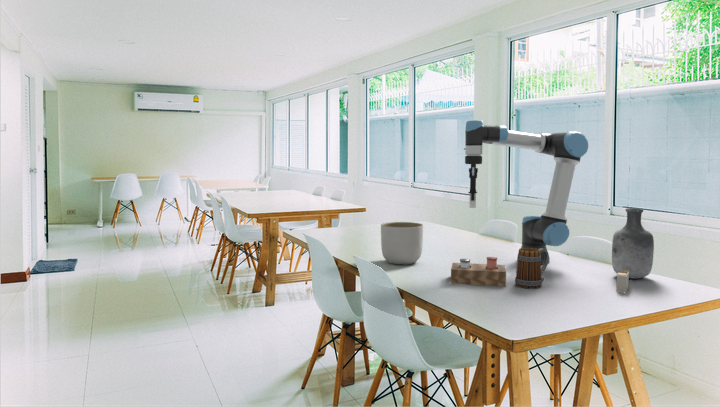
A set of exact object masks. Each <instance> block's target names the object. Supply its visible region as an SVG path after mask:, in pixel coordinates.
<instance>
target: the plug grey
mask: <svg viewBox="0 0 720 407" xmlns="http://www.w3.org/2000/svg"><path fill="white" fill-rule="evenodd" d="M459 261H460V262H459V263H460V268H470V263H471V259H470V258H460V259H459Z"/></svg>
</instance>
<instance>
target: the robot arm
mask: <svg viewBox="0 0 720 407" xmlns="http://www.w3.org/2000/svg"><path fill="white" fill-rule="evenodd" d="M464 129H465V133H464V134H465V142H464V143H465V147H464V148H463V150H464V152H465V153H464V154H465V156H464V165H470V167H469V168H468V173H469V174H468V175H469V176H468V177H469V179H470V180H469V182H470V183H469V191H468V194H469V208H470V209H476V207H477V202H476V201H477V194H478V191H477V189H476V188H477V179H478V172H479V168H477V165H482V163H483V156H482V155H483V148H484V147H483V144H488V145H494V146H495V145H496V146H503V147H510V148H517V149H525V150H532V151H534V152H535V153H537V154H544V155H548V156H552V157H553V159H554V161H555V168H554V172H553V176H552V181H551V186H550V190H549V193H548V194H549V195H548V199H547V204H546V208H545V212H544V213H542V214H541V215H525V216H523V218H522V222H521V224H522V226H521V228H522V229H521V247H520V248H529V249H530V248H534V249H540V248H543V249H546V250H547V251H548V248H547V246H550V247H559V246H560V247H561V246H562V245H564V244H565V243H566V242H567V240H568V239H569V237H570V228H569V226H568V225H567V222H568V219H567V218H566V211H567V205H568V202H569V196H570V193H571V187H572V182H573V179H574V174H575V169H576V166H577V165H579V163H580V162H581V158H582V157H584V156H585V154H587V152H588V150H589V140H588V139H587V138H586V136H585V134H583V133H581V132H579V131H573V130H571V131H566V132H565V131H564V132H552V133H543V132H539V133H537V134H534V133H530V132H529V133H528V132H521V131H515V130H509V129H508V126H506V125H501V124H499V125H498V124H496V125H495V124H493V125H487V124H486V125H485V124H484V121H483V120H467V121H466V123H465V128H464ZM540 255H541V265H543V263H544V252H543V251H542V252H541V254H540ZM549 263H550V257H549V260H548V264H549Z"/></svg>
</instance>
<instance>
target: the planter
mask: <svg viewBox="0 0 720 407" xmlns="http://www.w3.org/2000/svg"><path fill="white" fill-rule="evenodd" d="M423 242H424V224H422V223H419V222H411V221H410V222H409V221H391V222H385V223H384V222H383V223H381V224H380V245H381V254H382V258H384V259H385V260H386V261H387V262H388V263H389V264H392V263H393V264H392V265H397V264H408V265H411V264H412V263H413V264H415V263H417V261H418V260H420V258H421V257H422V254H423ZM413 264H412V265H413Z"/></svg>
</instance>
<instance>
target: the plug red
mask: <svg viewBox="0 0 720 407" xmlns="http://www.w3.org/2000/svg"><path fill="white" fill-rule="evenodd" d="M497 261H498V257H495V256H487V257H486V264H487V269H497V265H498V262H497Z"/></svg>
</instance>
